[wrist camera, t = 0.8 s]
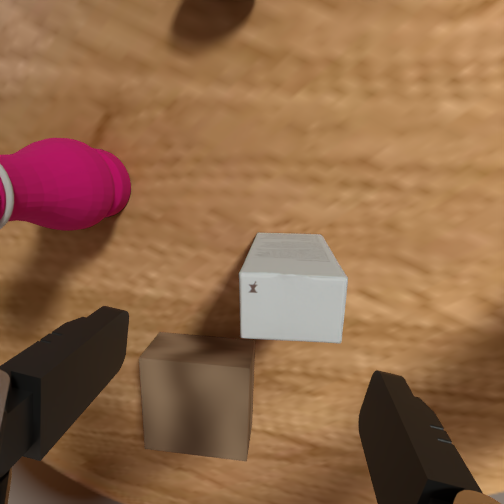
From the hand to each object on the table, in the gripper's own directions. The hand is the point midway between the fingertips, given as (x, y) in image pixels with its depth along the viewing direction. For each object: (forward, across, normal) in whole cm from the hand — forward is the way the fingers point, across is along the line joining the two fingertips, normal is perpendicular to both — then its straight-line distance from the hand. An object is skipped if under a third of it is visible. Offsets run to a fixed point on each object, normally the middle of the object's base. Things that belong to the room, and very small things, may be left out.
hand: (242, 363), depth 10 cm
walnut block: (+20, +4, +16) cm, 26 cm away
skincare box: (+20, -2, +1) cm, 20 cm away
